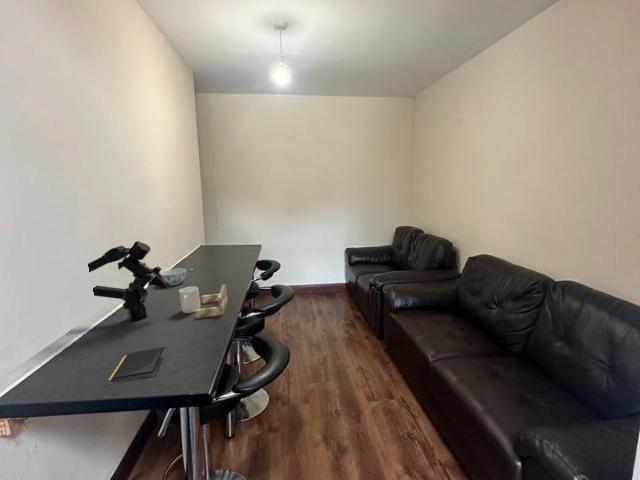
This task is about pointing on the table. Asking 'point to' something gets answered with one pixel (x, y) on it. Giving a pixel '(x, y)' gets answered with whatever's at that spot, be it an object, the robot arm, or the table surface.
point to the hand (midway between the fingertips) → (166, 288)
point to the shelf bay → (214, 298)
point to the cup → (189, 299)
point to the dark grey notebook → (138, 365)
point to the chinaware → (173, 276)
